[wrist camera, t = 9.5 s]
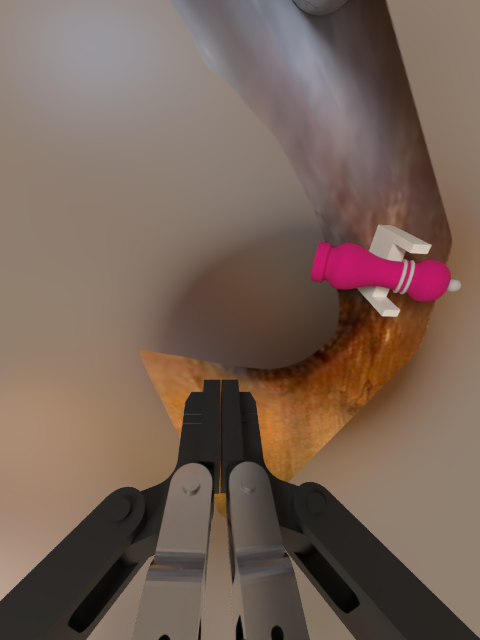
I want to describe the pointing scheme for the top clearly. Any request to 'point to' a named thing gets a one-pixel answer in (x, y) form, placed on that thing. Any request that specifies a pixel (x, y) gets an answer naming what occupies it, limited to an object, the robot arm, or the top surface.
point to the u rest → (391, 247)
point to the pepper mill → (381, 272)
